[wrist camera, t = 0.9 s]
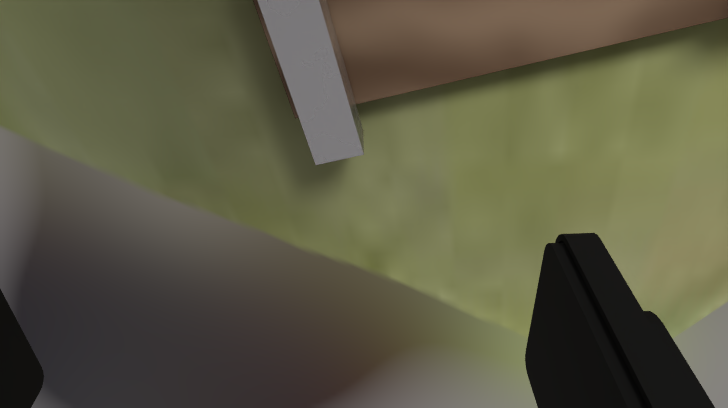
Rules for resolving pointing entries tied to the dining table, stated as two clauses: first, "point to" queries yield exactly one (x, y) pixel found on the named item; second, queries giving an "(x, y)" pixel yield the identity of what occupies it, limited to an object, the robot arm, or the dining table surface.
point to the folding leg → (315, 76)
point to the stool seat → (484, 36)
